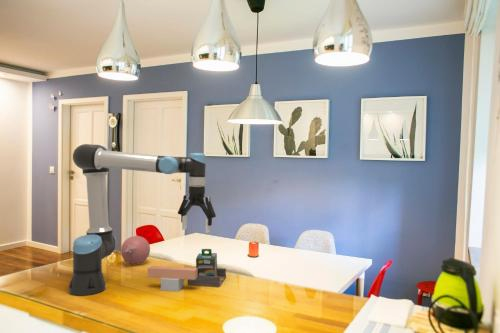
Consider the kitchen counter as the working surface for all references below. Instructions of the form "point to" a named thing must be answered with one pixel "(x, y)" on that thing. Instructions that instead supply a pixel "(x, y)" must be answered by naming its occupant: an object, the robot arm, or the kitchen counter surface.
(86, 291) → the robot arm
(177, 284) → the white and tan block
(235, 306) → the kitchen counter surface
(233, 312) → the kitchen counter surface
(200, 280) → the cradle
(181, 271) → the bar
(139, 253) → the balloon
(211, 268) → the chalk box
